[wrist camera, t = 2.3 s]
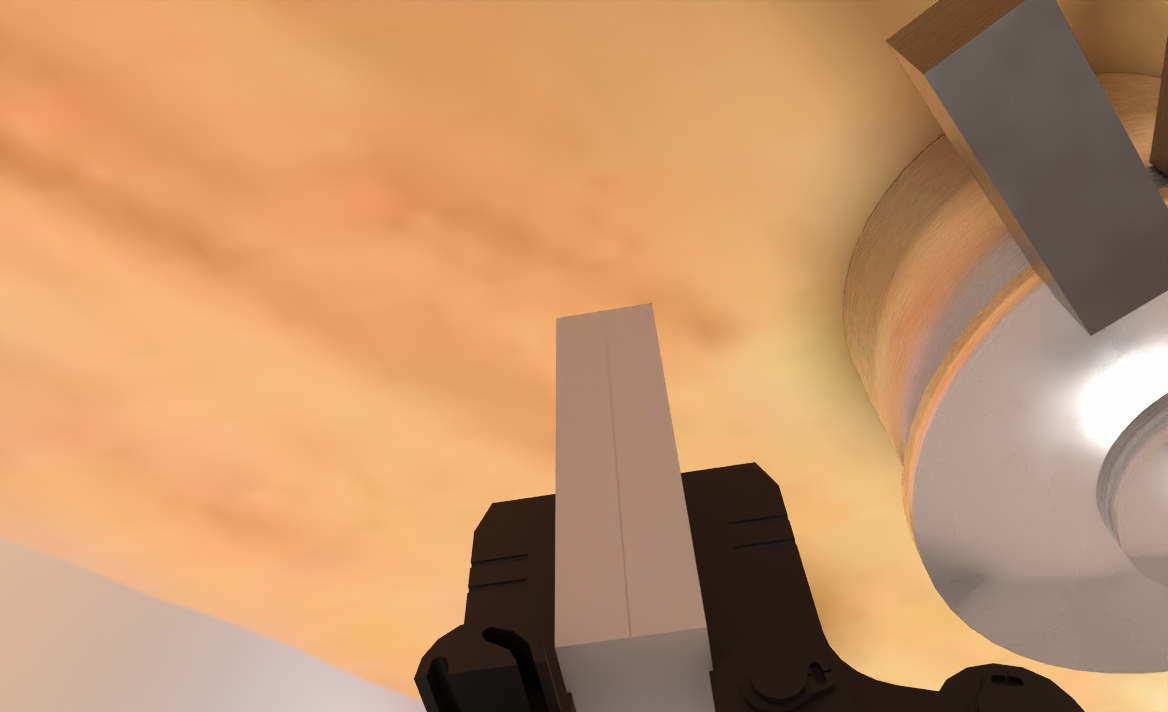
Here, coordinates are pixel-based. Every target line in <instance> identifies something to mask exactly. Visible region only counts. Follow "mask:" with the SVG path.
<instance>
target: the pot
mask: <svg viewBox="0 0 1168 712" xmlns="http://www.w3.org/2000/svg"><path fill="white" fill-rule="evenodd" d="M1095 75H1096V77H1097V79H1098V80H1099V82H1100V84H1101V86H1102V88H1103V90H1104V91H1105V93H1106V95H1107V97H1108V99H1109V101H1110V103H1111V104H1112V106H1113V108H1114V110H1115V112H1116V114H1117V115H1118V117H1119V119H1120V121H1121V123H1122V125H1123V126H1124V128H1125V130H1126V132H1127V134H1128V136H1129V138H1130V139H1131V141H1132V143H1133V145H1134V147H1135V149H1136V150H1137V152H1138V154H1139V156H1140V158H1141V160H1142V161H1143V163H1144V165H1145V167H1146V169H1147V171H1148V173H1149V174H1150V176H1151V178H1152V180H1153V182H1154V184H1155V185H1156V187H1157V189H1158V190H1159V189H1161V188H1163V187H1166V186H1168V38H1167V45H1166V52H1165V58H1164V65H1163V72H1162V78H1160V77H1153V76H1147V75H1141V74H1131V73H1100V74H1095ZM1029 265H1030V263H1029V262H1028V260H1027V259H1026V257H1025V256H1024V254H1023V252H1022V251H1021V249H1020V248H1019V246H1018V245H1017V243H1016V242H1015V240H1014V239H1013V237H1012V235H1011V234H1010V232H1009V231H1008V229H1007V228H1006V226H1005V225H1004V223H1003V222H1002V220H1001V219H1000V217H999V215H998V214H997V212H996V211H995V209H994V208H993V206H992V205H991V203H990V202H989V200H988V198H987V197H986V195H985V194H984V192H983V191H982V189H981V188H980V186H979V185H978V183H977V182H976V180H975V178H974V177H973V175H972V174H971V172H970V171H969V169H968V168H967V166H966V165H965V163H964V161H963V160H962V158H961V157H960V155H959V154H958V152H957V151H956V149H955V148H954V146H953V145H952V143H951V141H950V140H949V138H948V137H947V135H946V134H944V135H942V136H941V137H940V138H938V139H937V140H936V141H935V142H933V143H932V144H931V145H930V146H928V147H927V148H926V149H925V150H924V151H923V152H922V153H921V154H920V155H919V156H918V157H917V158H916V159H915V160H914V161H913V162H912V163H911V164H910V165H909V166H908V167H907V168H906V169H905V170H904V171H903V172H902V173H901V175H900V176H899V177H898V178H897V179H896V181H895V182H894V183H893V184H892V186H891V187H890V188H889V189H888V190H887V192H886V193H885V194H884V196H883V197H882V199H881V201H880V202H879V204H878V205H877V207H876V208H875V210H874V211H873V213H872V215H871V216H870V218H869V220H868V222H867V224H866V226H865V228H864V230H863V232H862V234H861V236H860V238H859V240H858V242H857V245H856V248H855V251H854V254H853V257H852V260H851V263H850V266H849V270H848V275H847V280H846V286H845V291H844V309H843V318H844V327H845V337H846V341H847V345H848V348H849V352H850V356H851V359H852V361H853V363H854V366H855V368H856V370H857V372H858V374H859V376H860V379H861V381H862V383H863V385H864V387H865V389H866V391H867V393H868V395H869V397H870V399H871V401H872V403H873V405H874V408H875V410H876V412H877V414H878V416H879V418H880V420H881V422H882V424H883V426H884V428H885V430H886V432H887V434H888V437H889V439H890V441H891V443H892V445H893V447H894V449H895V451H896V453H897V455H898V457H899V459H900V461H901V464H902V466H903V463H904V452H905V448H906V444H907V440H908V436H909V433H910V429H911V425H912V421H913V418H914V416H915V414H916V411H917V409H918V406H919V404H920V401H921V399H922V397H923V394H924V392H925V389H926V387H927V386H928V384H929V382H930V380H931V379H932V377H933V375H934V374H935V372H936V370H937V368H938V367H939V365H940V363H941V361H942V360H943V358H944V356H945V355H946V353H947V352H948V351H949V349H950V348H951V347H952V345H953V344H954V343H955V341H956V340H957V339H958V337H959V336H960V335H961V333H962V332H963V331H964V329H965V328H966V327H967V325H968V324H969V323H970V322H971V320H972V319H973V318H974V317H975V316H976V315H977V314H978V313H979V312H980V311H981V310H982V309H983V308H984V307H985V306H986V305H987V303H988V302H989V301H990V300H991V299H992V298H993V297H994V296H995V295H996V294H997V293H998V292H999V291H1000V290H1001V289H1002V288H1003V287H1004V286H1005V285H1007V284H1008V283H1009V282H1010V281H1011V280H1012V279H1014V278H1015V277H1016V276H1017V275H1018V274H1019V273H1020V272H1022V271H1023V270H1024V269H1025V268H1026V267H1027V266H1029Z"/></svg>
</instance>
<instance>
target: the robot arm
mask: <svg viewBox="0 0 1168 712" xmlns="http://www.w3.org/2000/svg"><path fill="white" fill-rule="evenodd" d="M471 565H472V568H470V575H469V584H468V588H469V593H467V602H466V611H465V620H464V625H460V626H459V627H457V628H455V629H454V630H452V631H451V632H449V633H447V634H446V635H444V636H443V637H441V638H439V639H438V640H437V641H436V642H435V643H434V645H433V646H432V647H431V648H430V649H429V650H428V651H427V653H426V654H425V655H424V656H423V657H422V659H421V662H420V664H419V667H418V670H417V672H416V675H415V677H414V680H415V683H416V685H417V688H418V690H419V693H420V696H421V698H422V701H423V703H424V706H425V708H426V711H427V712H1084V710H1083V709H1082V708H1081V707H1080V706H1079V705H1078V704H1077V702H1076V701H1075V700H1074V699H1073V698H1072V697H1071V696H1069V695H1068V694H1067V693H1066V692H1065V691H1063V690H1062V689H1061V688H1060V687H1059V686H1057V685H1056V684H1055V683H1054V682H1053V681H1051V680H1050V679H1048V678H1046V677H1043V676H1041V675H1039V674H1036V673H1034V672H1032V671H1029V670H1027V669H1025V668H1023V667H1016V666H1009V665H1002V664H994V663H992V664H986V665H980V666H974V667H968V668H965V669H964V670H962V671H960V672H959V673H957V674H955V675H954V676H952V677H950V678H949V679H947V680H946V681H945V683H944V684H943V686H942V687H941V689H940V691H932V690H926V689H919V688H912V687H905V686H899V685H894V684H890V683H886V682H882V681H878V680H875V679H873V678H871V677H868V676H866V675H864V674H862V673H860V672H857V671H856V670H855V669H853V668H852V667H850V666H849V665H848V664H846V663H845V662H844V661H842V660H841V659H840V658H839V656H838V655H837V654H836V653H835V652H834V651H833V649H832V648H831V647H830V646H829V644H828V642H827V639H826V637H825V635H824V633H823V631H822V627H821V624H820V621H819V617H818V614H817V611H816V607H815V604H814V601H813V598H812V594H811V591H810V588H809V584H808V581H807V578H806V574H805V571H804V568H803V564H802V561H801V558H800V555H799V551H798V548H797V545H796V544H795V538H794V535H793V531H792V528H791V525H790V521H789V520H788V516H787V512H786V508H785V505H784V502H783V498H782V495H781V492H780V488H779V485H778V484H777V483H776V482H775V481H774V480H773V479H772V478H771V477H770V476H769V475H768V474H767V473H766V472H764V471H763V470H762V469H761V468H760V467H759V466H758V465H757V464H756V463H755V462H753V463H747V464H740V465H733V466H726V467H719V468H713V469H706V470H699V471H692V472H685V473H681V472H680V467H679V461H678V455H677V449H676V443H675V437H674V431H673V425H672V420H671V414H670V408H669V402H668V396H667V390H666V384H665V378H664V373H663V367H662V361H661V355H660V349H659V343H658V337H657V331H656V325H655V320H654V314H653V308H652V303H650V304H644V305H638V306H631V307H625V308H619V309H613V310H606V311H600V312H594V313H588V314H581V315H575V316H569V317H563V318H557V324H556V494H552V495H545V496H539V497H532V498H525V499H518V500H511V501H504V502H498V503H492V505H491V506H490V508H489V509H488V511H487V513H486V514H485V516H484V517H483V519H482V520H481V522H480V524H479V525H478V527H477V528H476V530H475V531H474V539H473V548H472V557H471Z"/></svg>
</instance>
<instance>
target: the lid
mask: <svg viewBox="0 0 1168 712" xmlns="http://www.w3.org/2000/svg"><path fill="white" fill-rule="evenodd" d="M886 43H887V44H888V46H889V47H890V49H891V50H892V52H893V54H894V55H895V57H896V58H897V60H898V61H899V63H900V64H901V66H902V67H903V69H904V70H905V72H906V74H907V75H908V77H909V78H910V80H911V81H912V83H913V84H914V86H915V87H916V89H917V91H918V92H919V94H920V95H921V97H922V98H923V100H924V101H925V103H926V104H927V106H928V107H929V109H930V111H931V112H932V114H933V115H934V117H935V118H936V120H937V121H938V123H939V124H940V126H941V128H942V129H943V131H944V132H945V134H946V135H947V137H948V138H949V140H950V141H951V143H952V145H953V146H954V148H955V149H956V151H957V152H958V154H959V155H960V157H961V158H962V160H963V161H964V163H965V165H966V166H967V168H968V169H969V171H970V172H971V174H972V175H973V177H974V178H975V180H976V182H977V183H978V185H979V186H980V188H981V189H982V191H983V192H984V194H985V195H986V197H987V198H988V200H989V202H990V203H991V205H992V206H993V208H994V209H995V211H996V212H997V214H998V215H999V217H1000V219H1001V220H1002V222H1003V223H1004V225H1005V226H1006V228H1007V229H1008V231H1009V232H1010V234H1011V235H1012V237H1013V239H1014V240H1015V242H1016V243H1017V245H1018V246H1019V248H1020V249H1021V251H1022V252H1023V254H1024V256H1025V257H1026V259H1027V260H1028V262H1029V263H1030V265H1029V266H1027V267H1026V268H1025V269H1024V270H1023V271H1022V272H1020V273H1019V274H1018V275H1017V276H1016V277H1015V278H1014V279H1012V280H1011V281H1010V282H1009V283H1008V284H1007V285H1005V286H1004V287H1003V288H1002V289H1001V290H1000V291H999V292H998V293H997V294H996V295H995V296H994V297H993V298H992V299H991V300H990V301H989V302H988V303H987V305H986V306H985V307H984V308H983V309H982V310H981V311H980V312H979V313H978V314H977V315H976V316H975V317H974V318H973V319H972V320H971V322H970V323H969V324H968V325H967V327H966V328H965V329H964V331H963V332H962V333H961V335H960V336H959V337H958V339H957V340H956V341H955V343H954V344H953V345H952V347H951V348H950V349H949V351H948V352H947V353H946V355H945V356H944V358H943V360H942V361H941V363H940V365H939V367H938V368H937V370H936V372H935V374H934V375H933V377H932V379H931V380H930V382H929V384H928V386H927V387H926V389H925V392H924V394H923V397H922V399H921V401H920V404H919V406H918V409H917V411H916V414H915V416H914V418H913V421H912V425H911V429H910V433H909V436H908V440H907V444H906V448H905V452H904V463H903V474H902V491H903V503H904V512H905V516H906V519H907V523H908V527H909V530H910V534H911V537H912V539H913V542H914V544H915V546H916V548H917V551H918V553H919V555H920V557H921V559H922V562H923V564H924V566H925V568H926V570H927V572H928V574H929V576H930V578H931V580H932V583H933V585H934V587H935V589H936V590H937V591H938V593H939V594H940V595H941V597H942V598H943V599H944V601H945V602H946V603H947V605H948V606H949V607H950V609H951V610H952V611H953V612H954V613H955V614H956V615H957V616H959V617H960V618H961V619H962V620H963V621H964V622H965V623H966V624H967V625H968V626H969V627H970V628H972V629H973V630H975V631H976V632H978V633H979V634H981V635H982V636H984V637H985V638H987V639H988V640H990V641H991V642H993V643H995V644H997V645H999V646H1001V647H1003V648H1005V649H1007V650H1009V651H1011V652H1013V653H1015V654H1018V655H1020V656H1023V657H1026V658H1029V659H1032V660H1035V661H1039V662H1042V663H1045V664H1049V665H1053V666H1058V667H1063V668H1068V669H1073V670H1079V671H1090V672H1100V673H1154V672H1166V671H1168V186H1166V187H1163V188H1161V189H1159V190H1158V189H1157V187H1156V185H1155V184H1154V182H1153V180H1152V178H1151V176H1150V174H1149V173H1148V171H1147V169H1146V167H1145V165H1144V163H1143V161H1142V160H1141V158H1140V156H1139V154H1138V152H1137V150H1136V149H1135V147H1134V145H1133V143H1132V141H1131V139H1130V138H1129V136H1128V134H1127V132H1126V130H1125V128H1124V126H1123V125H1122V123H1121V121H1120V119H1119V117H1118V115H1117V114H1116V112H1115V110H1114V108H1113V106H1112V104H1111V103H1110V101H1109V99H1108V97H1107V95H1106V93H1105V91H1104V90H1103V88H1102V86H1101V84H1100V82H1099V80H1098V79H1097V77H1096V75H1095V73H1094V71H1093V69H1092V67H1091V66H1090V64H1089V62H1088V60H1087V58H1086V56H1085V55H1084V53H1083V51H1082V49H1081V47H1080V45H1079V44H1078V42H1077V40H1076V38H1075V36H1074V34H1073V32H1072V31H1071V29H1070V27H1069V25H1068V23H1067V21H1066V20H1065V18H1064V16H1063V14H1062V12H1061V10H1060V9H1059V7H1058V5H1057V3H1056V1H1055V0H940V1H938V2H937V3H936V4H934V5H933V6H932V7H930V8H929V9H928V10H926V11H925V12H924V13H922V14H921V15H920V16H918V17H917V18H916V19H914V20H913V21H912V22H910V23H909V24H908V25H906V26H905V27H904V28H902V29H901V30H900V31H898V32H897V33H896V34H894V35H893V36H892V37H890V38H889V39H888V40H886Z"/></svg>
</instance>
